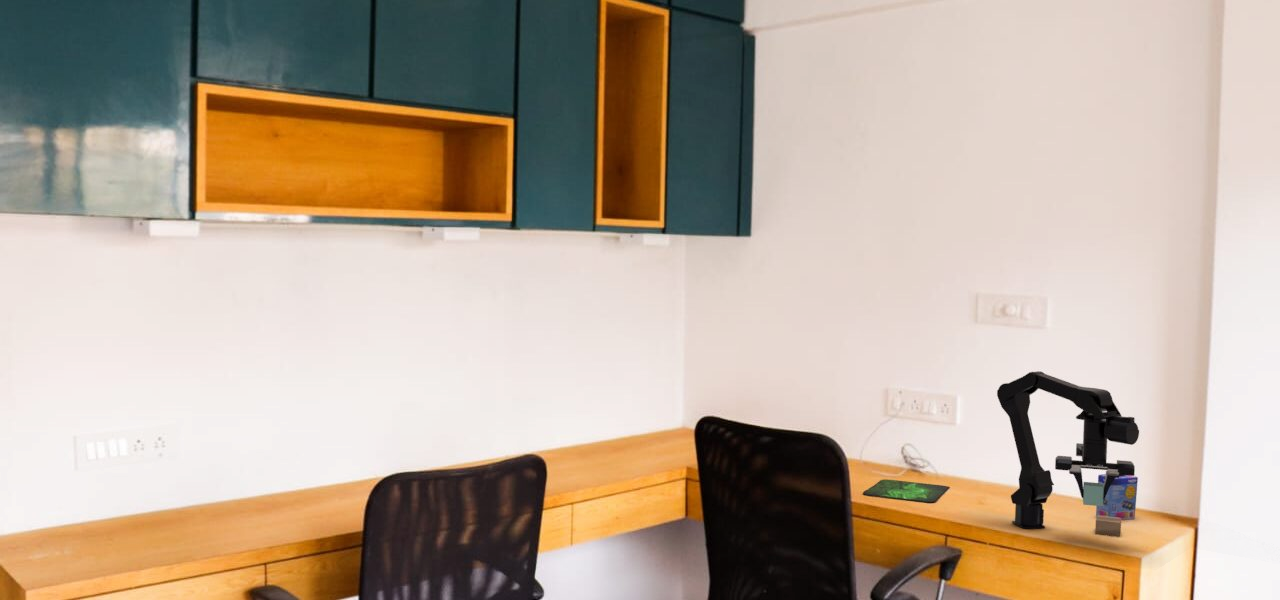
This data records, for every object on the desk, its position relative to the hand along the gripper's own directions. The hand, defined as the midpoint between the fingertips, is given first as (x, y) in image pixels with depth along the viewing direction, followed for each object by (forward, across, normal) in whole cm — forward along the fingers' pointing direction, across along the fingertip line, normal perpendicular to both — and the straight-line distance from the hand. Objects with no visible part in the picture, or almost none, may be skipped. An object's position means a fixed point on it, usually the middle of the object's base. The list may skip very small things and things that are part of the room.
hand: (1092, 498), depth 283 cm
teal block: (+1, 0, 0) cm, 1 cm away
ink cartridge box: (+12, -7, -31) cm, 34 cm away
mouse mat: (+12, +52, -41) cm, 67 cm away
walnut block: (+12, -4, -12) cm, 17 cm away
